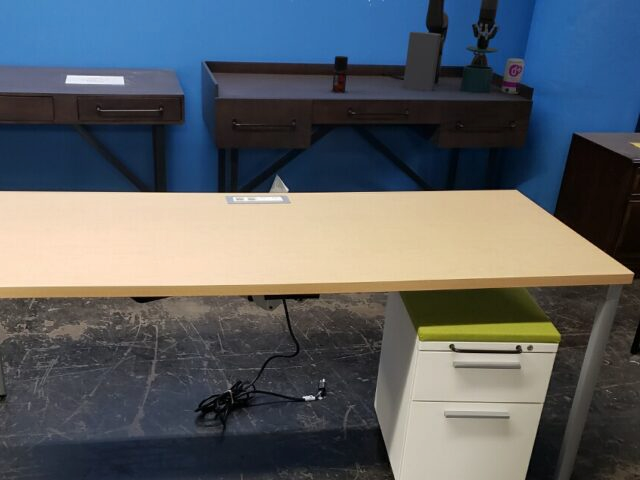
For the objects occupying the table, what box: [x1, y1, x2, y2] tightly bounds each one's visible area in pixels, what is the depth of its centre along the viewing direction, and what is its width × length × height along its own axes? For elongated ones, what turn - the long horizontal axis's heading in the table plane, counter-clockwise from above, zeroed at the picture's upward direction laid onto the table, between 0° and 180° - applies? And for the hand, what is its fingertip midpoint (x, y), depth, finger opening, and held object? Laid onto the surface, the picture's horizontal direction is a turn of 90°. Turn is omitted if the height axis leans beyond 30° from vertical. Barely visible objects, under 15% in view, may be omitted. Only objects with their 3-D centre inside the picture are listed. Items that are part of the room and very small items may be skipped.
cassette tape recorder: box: [402, 30, 441, 92], centre depth 368 cm, size 14×6×25 cm, turn 62°
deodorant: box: [331, 55, 349, 94], centre depth 359 cm, size 6×6×15 cm
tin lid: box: [465, 34, 499, 54], centre depth 364 cm, size 15×15×7 cm
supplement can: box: [500, 57, 525, 95], centre depth 371 cm, size 8×8×15 cm
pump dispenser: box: [469, 52, 489, 66], centre depth 389 cm, size 10×10×15 cm
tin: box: [460, 64, 495, 94], centre depth 372 cm, size 14×14×11 cm
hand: (482, 48), depth 365 cm, fingers closed on tin lid, 2 cm apart
